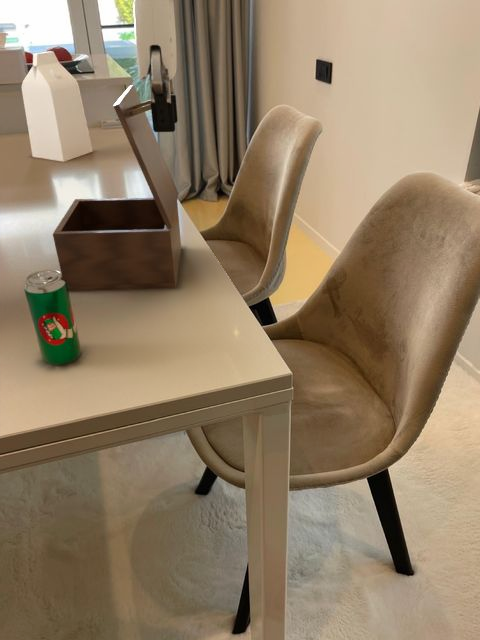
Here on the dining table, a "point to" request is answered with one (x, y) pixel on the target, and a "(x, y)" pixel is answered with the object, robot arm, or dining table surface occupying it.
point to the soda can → (52, 316)
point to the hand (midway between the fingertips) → (165, 125)
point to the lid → (147, 152)
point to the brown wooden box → (117, 245)
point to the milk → (54, 111)
